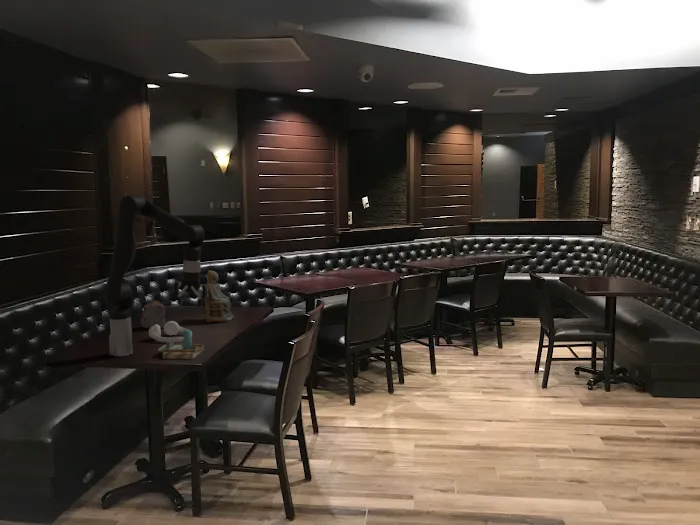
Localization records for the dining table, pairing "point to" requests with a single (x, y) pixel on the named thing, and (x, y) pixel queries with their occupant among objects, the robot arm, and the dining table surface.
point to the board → (183, 352)
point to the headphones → (169, 329)
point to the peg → (187, 339)
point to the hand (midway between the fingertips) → (189, 305)
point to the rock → (153, 315)
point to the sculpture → (216, 301)
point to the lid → (170, 345)
